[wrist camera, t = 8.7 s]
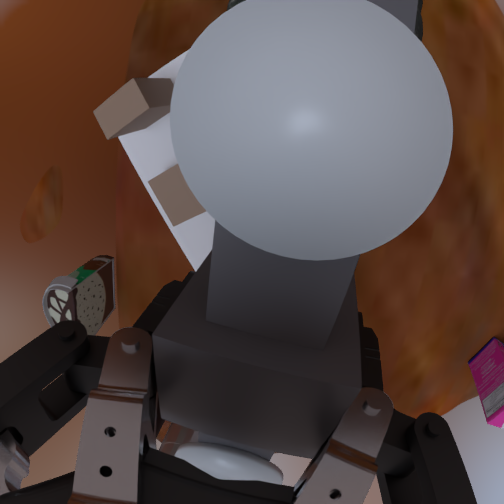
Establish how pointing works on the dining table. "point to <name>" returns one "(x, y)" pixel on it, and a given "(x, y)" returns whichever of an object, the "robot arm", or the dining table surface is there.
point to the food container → (83, 295)
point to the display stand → (158, 155)
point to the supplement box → (490, 380)
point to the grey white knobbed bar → (291, 216)
